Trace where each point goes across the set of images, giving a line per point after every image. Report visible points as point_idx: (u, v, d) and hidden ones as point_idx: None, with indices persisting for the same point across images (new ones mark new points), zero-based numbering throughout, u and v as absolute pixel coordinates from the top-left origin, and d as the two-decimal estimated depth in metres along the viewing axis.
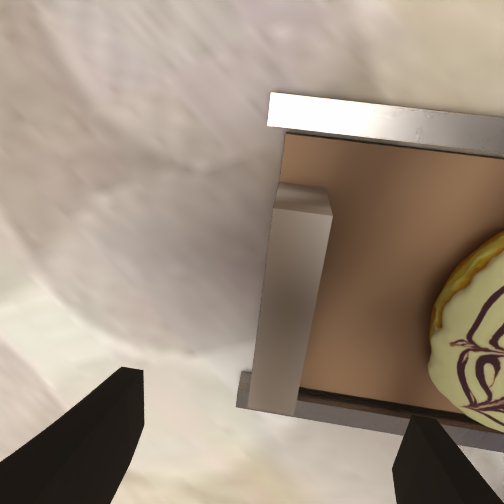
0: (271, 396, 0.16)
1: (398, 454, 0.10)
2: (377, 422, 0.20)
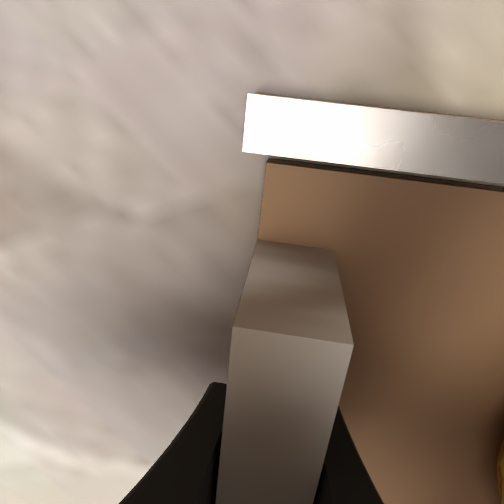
0: None
1: None
2: None
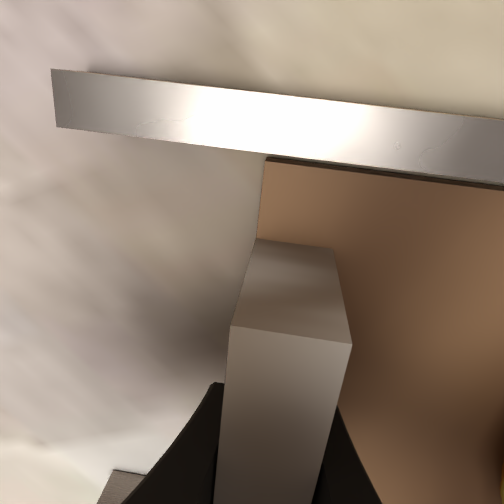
0: None
1: None
2: None
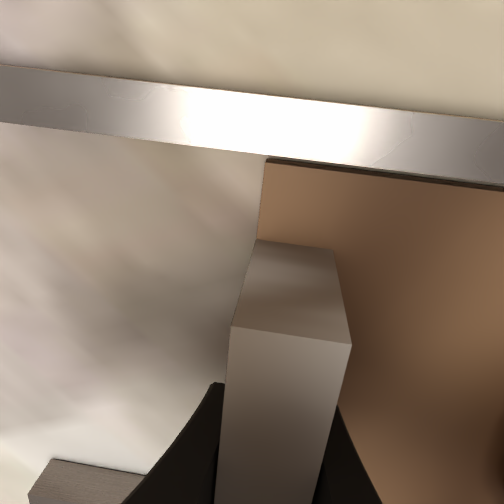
0: None
1: None
2: None
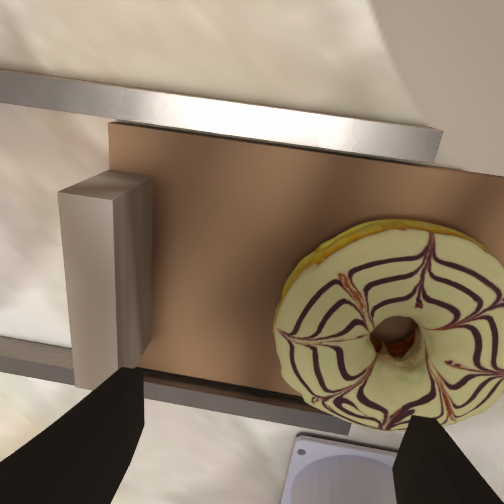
0: (95, 376, 0.17)
1: (398, 454, 0.10)
2: None
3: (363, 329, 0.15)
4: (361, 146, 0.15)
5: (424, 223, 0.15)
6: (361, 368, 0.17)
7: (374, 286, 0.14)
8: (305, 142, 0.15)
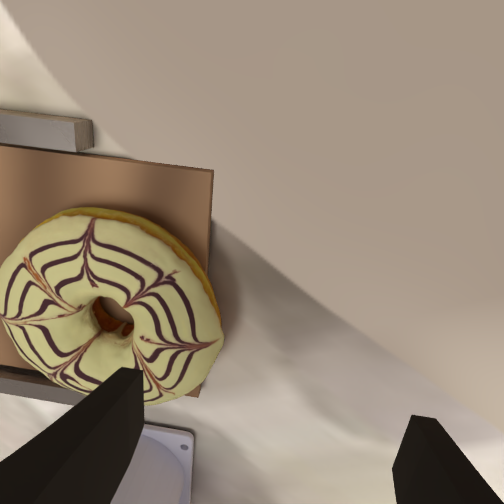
0: None
1: (398, 454, 0.10)
2: None
3: (59, 308, 0.17)
4: (12, 138, 0.16)
5: (103, 210, 0.16)
6: (76, 346, 0.18)
7: (48, 268, 0.16)
8: None
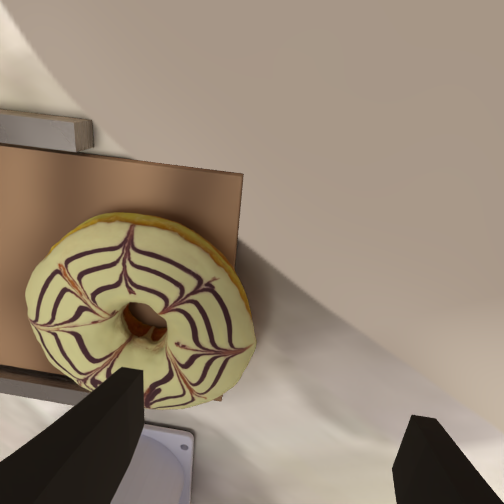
0: None
1: (398, 454, 0.10)
2: None
3: (93, 315, 0.17)
4: (12, 138, 0.16)
5: (140, 216, 0.16)
6: (108, 351, 0.18)
7: (85, 274, 0.16)
8: None
